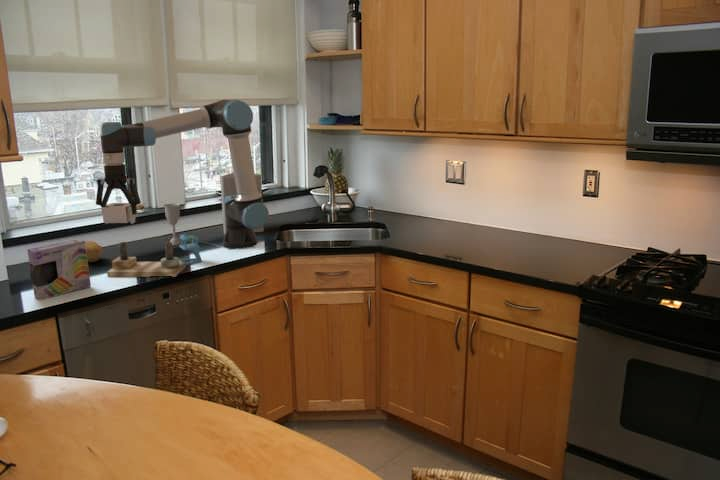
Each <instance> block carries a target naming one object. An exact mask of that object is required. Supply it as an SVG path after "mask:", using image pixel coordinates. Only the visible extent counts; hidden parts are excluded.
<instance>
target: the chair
mask: <svg viewBox="0 0 720 480" xmlns="http://www.w3.org/2000/svg"><path fill="white" fill-rule="evenodd" d="M190 240H191V243H187V242H188V241H190ZM179 241H180V244H178V245H179V248H181V249H182V250H183V251H191V252H192V253H193V255H194V257H195V258H193V257H192V258H181V259H180V258H179V262H186V266H189V265H194V264H198V263H202V261H203V260H202V257H201V255H200V252H199V249H201V247H200V245H199V244H198V243H199V237H195V235H194V234H189V233H184V234H181V235H180V236H179Z"/></svg>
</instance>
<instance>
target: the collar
mask: <svg viewBox="0 0 720 480" xmlns="http://www.w3.org/2000/svg"><path fill="white" fill-rule="evenodd" d="M130 206H131V205H130V203H129V202H111V203H109V204H108V203H107V205H106V206H104V207H101V214H102V213H103V214H102V219H103V224H106V223H108V224H117V223H118V224H128V223H129V222H130V211H129V207H130ZM135 219H137V213H136V214H135ZM130 223H131V222H130Z"/></svg>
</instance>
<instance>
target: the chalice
mask: <svg viewBox="0 0 720 480" xmlns="http://www.w3.org/2000/svg"><path fill="white" fill-rule="evenodd" d="M180 206H181V203H175V202H174V203H165V204H163V207H164V212H165V217H166V220H167V222H168V224H169V225H171V227H172V228H171V230H172V238H171V239H170V241H169V242H171V243H172V245H173V246H174V245H181V240H180V238H178V237H177V236H176V234H177V232H176V225H177V224H178V222H179V219H180V215H181V214H180Z"/></svg>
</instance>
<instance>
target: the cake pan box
mask: <svg viewBox="0 0 720 480" xmlns="http://www.w3.org/2000/svg"><path fill="white" fill-rule="evenodd" d="M85 242H86V241H85V240H84V239H81V238H77V239H72V240H68V241H67V240H66V241H61V242H60V241H59V242H55V243H49V244H45V245H41V246H36V247H30V248H27V256H28V262H29V266H30V267H29V268H30V271H29V272H30V273H29V274H30V275H29V276H30V279H31V283H32V289H33V295H34V298H36V299H38V300H39V301H41V300H46V299H49V298H52V297H57V296H60V295H65V294H67V293H71V292H75V291H76V292H77V291H79V290H83V289H86V288H90V287H91V286H92V285H91V277H90V269H89V268H90V267H89V262H88V260H87V252H86V245H85Z"/></svg>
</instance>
